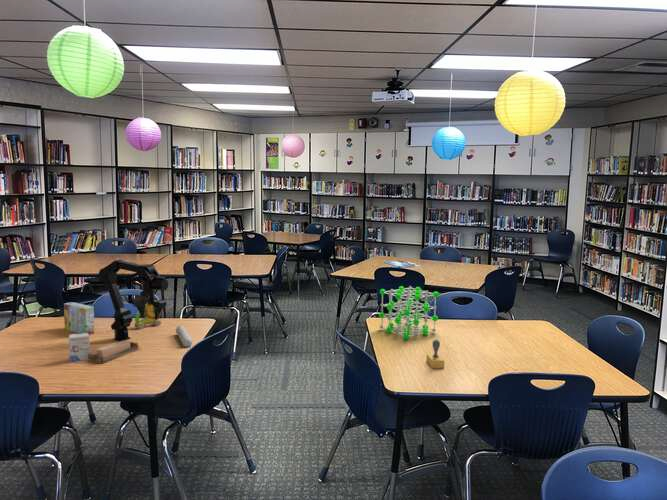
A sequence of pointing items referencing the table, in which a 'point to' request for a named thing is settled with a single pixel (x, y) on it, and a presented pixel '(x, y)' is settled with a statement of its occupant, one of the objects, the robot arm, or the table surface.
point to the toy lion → (147, 317)
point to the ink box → (79, 346)
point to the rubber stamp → (435, 356)
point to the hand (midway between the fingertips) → (149, 318)
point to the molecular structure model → (408, 311)
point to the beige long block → (113, 348)
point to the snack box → (79, 318)
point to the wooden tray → (105, 359)
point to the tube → (184, 336)
